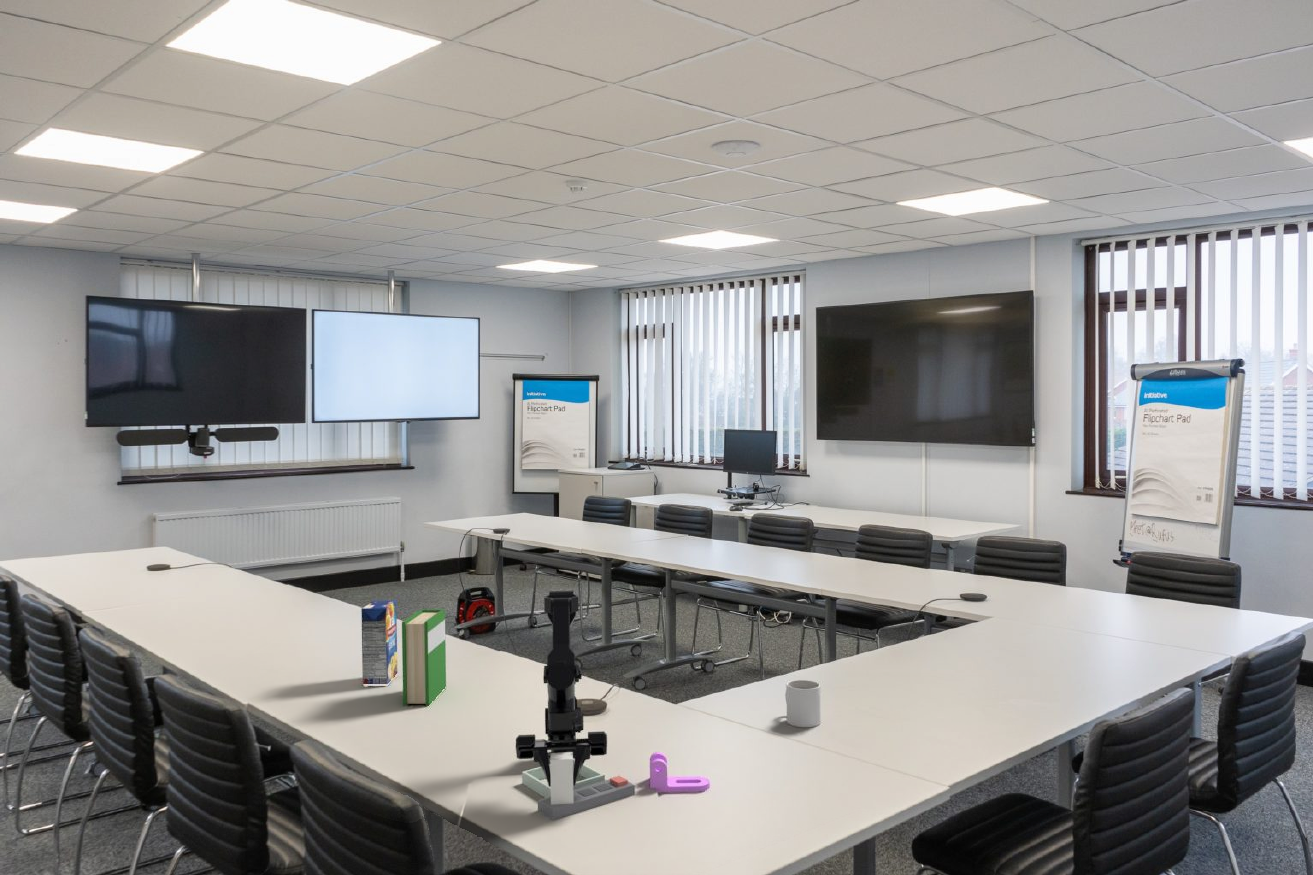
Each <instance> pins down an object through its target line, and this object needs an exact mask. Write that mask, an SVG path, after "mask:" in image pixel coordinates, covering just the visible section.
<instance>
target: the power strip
mask: <svg viewBox="0 0 1313 875" xmlns="http://www.w3.org/2000/svg"><path fill="white" fill-rule="evenodd" d="M635 790H636V788H635V784H634V783H631V782H630V781H629V780H628V779H626V778H624V777H622V776H621V775H617V776H613V777H610V778H608V779H605V781H602V782H598V783H595V784H592V785H588V786H585V787H581V788H578V789H575V790H573V804H561V805H559V804H555V805H551V797H548V798H545V797H543V798H541V799H538V800H537V811H538V812H540V814H542V815H544V816H545V817H547V818H549V819H550V820H552V821H556V820H558V819H562V818H565V817H568V816H572V815H574V814H578V813H581V812H584V811H587V810H591V809H593V808H597V807H600V806H604V805H607V804H610V803H612V802H616V801H619V800H621V799H625V798H629V797H631V796H634V795H636V794H635V792H636V791H635Z"/></svg>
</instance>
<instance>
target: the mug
mask: <svg viewBox="0 0 1313 875" xmlns="http://www.w3.org/2000/svg"><path fill="white" fill-rule="evenodd" d="M785 685H786V686H785V688H786V689H785V694H784V695H785V702H786V703H785V704H786V722H787V724H788V725H790V726H793V727H798V728H813V727H817V726H820V724H821V723H822V720H821V719H822V716H821V715H822V714H821V713H822V711H821V708H822V707H821V706H822V705H821V702H822V701H821V700H822V698H821V697H822V696H821V683H819V682H818V681H815V680H808V679H796V680H795V679H794V680H790V681H787V683H786V684H785Z"/></svg>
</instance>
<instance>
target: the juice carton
mask: <svg viewBox="0 0 1313 875" xmlns="http://www.w3.org/2000/svg"><path fill="white" fill-rule="evenodd" d="M360 612H361V653H362V654H361V656H362V657H361V658H362V659H361V660H362V661H361V662H362V665H361V666H362V685H363V684H388V683H389V682H390V681H391V679H392V678H394V677H395V675H396V674H397V673H398V632H397V631H398V626H397V625H398V624H397V620H398V618H397V617H398V616H397V614H398V613H397V600H372V601H370V602H369V603H367V604H366V605H365V606H363V607H362V608H361V611H360Z"/></svg>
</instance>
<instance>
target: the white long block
mask: <svg viewBox="0 0 1313 875" xmlns="http://www.w3.org/2000/svg"><path fill="white" fill-rule="evenodd" d="M549 764H550V773H551V805H555V804H559V805H561V804H573V752H562V753H551V757H549Z"/></svg>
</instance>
